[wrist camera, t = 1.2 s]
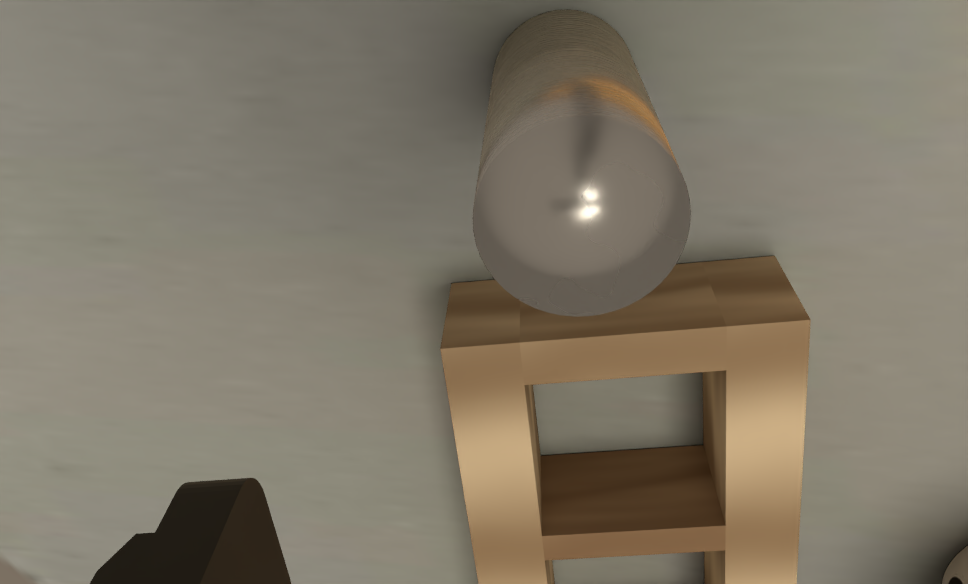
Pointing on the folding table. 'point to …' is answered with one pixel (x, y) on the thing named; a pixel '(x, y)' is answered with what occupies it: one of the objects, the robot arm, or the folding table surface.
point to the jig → (643, 472)
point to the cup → (957, 569)
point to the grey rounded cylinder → (576, 172)
